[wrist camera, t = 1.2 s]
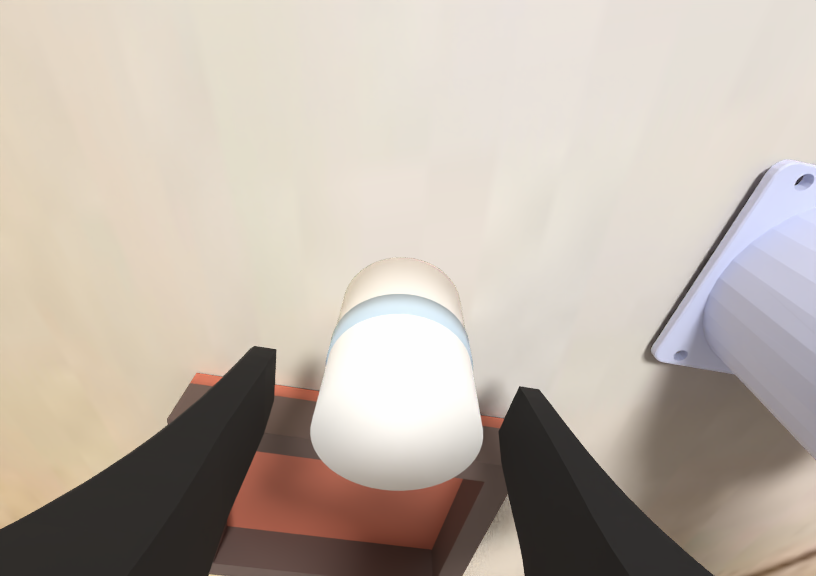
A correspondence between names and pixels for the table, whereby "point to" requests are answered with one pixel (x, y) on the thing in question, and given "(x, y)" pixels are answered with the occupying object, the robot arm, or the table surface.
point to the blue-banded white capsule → (398, 381)
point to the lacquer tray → (347, 507)
